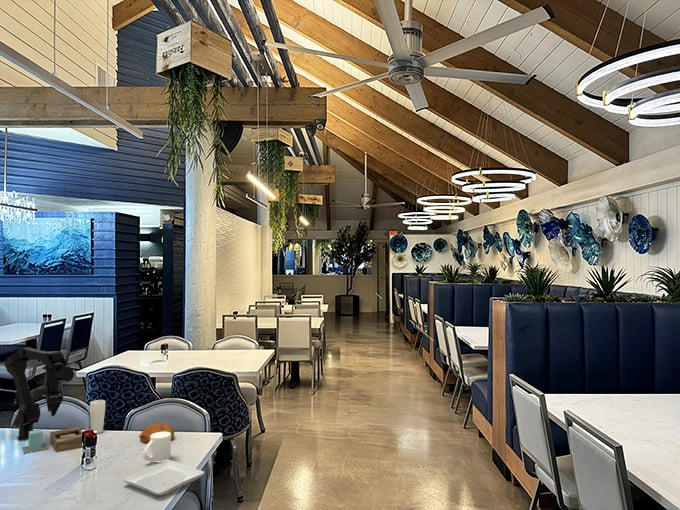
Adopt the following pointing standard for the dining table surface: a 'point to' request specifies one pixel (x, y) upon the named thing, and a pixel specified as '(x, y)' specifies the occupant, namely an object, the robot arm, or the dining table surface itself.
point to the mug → (158, 447)
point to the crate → (66, 439)
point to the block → (35, 439)
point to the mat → (26, 449)
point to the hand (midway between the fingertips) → (51, 413)
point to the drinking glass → (97, 415)
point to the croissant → (153, 429)
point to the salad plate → (189, 471)
